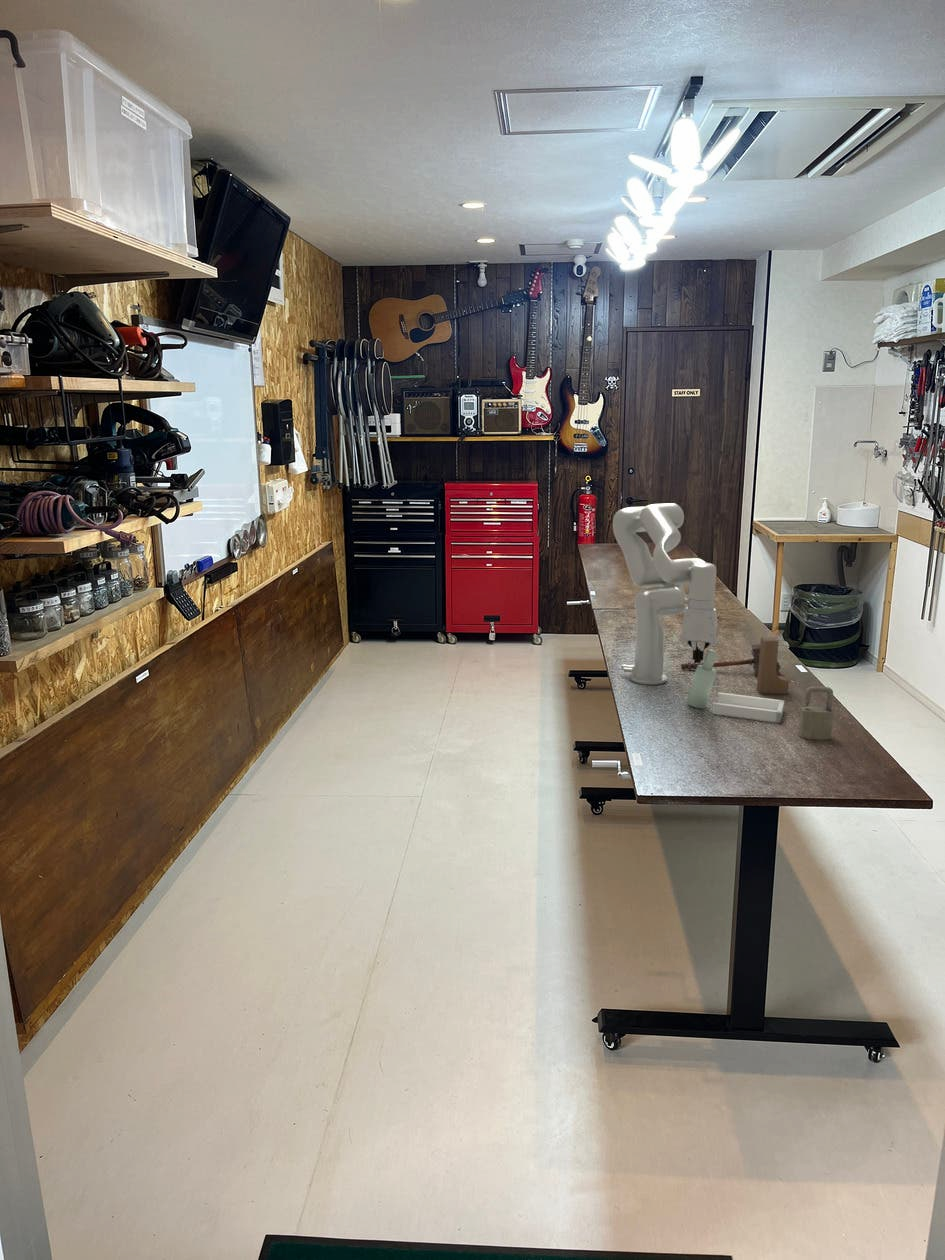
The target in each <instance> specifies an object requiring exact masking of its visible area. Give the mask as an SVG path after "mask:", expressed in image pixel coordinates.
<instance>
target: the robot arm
mask: <svg viewBox="0 0 945 1260" xmlns="http://www.w3.org/2000/svg"><path fill="white" fill-rule="evenodd" d="M684 520H685V514H684V510H683V509H682V507H681V506H680V505H679V504H677V503H674V502H673V503H671V502H668V503H653V504H652V503H651V504H648V505H646V506H630V507H624V508H622V509H619V510H617V511H616V513H615V514H614V515H613V519H612V531H613V536H614V537H615V540H616V542H617V544H618V545H619V548H620V549H621V551H622V554H623V557H624V560H625V563H626V566H627V569H628V573H629V576H630V579H631V581H632V583H633V585H634V586H636V587H638V588H643V589H641V590H639V591H637V593H636V594H635V596H634V611H635V618H636V620H635V647H634V664H631V665H629V664H621V670H622V671H623V672H625V673H629V677H628V678H629V680H630V681H631V682H632V683H636V684H640V685H646V686H647V685H649V686H650V685H651V686H652V685H654V686H655V685H656V686H657V685H662V684H664V683H666V682H667V681H668V677H667V675H666V674H664V659H665V657H664V656H665V637H666V628H665V626H664V624H663V622H662V621H661V619H660V617H663V616H673V615H679V614H682V613H683V618H682V625H681V638H680V641H681V643H684V644H688V645H689V646H690V647H691V650H692V660H693V663H695V664H701V662H702V661H704V652H705V649H707V648H709V647H713V646H717V644H718V641H717V640H718V639H717V636H718V616H717V615H718V614H717V609H716V608H715V600H716V599H715V597H716V596H715V595H716V583H717V567H716V565H715V564H714V563H710V562H707V561H705V560H703V559H701V558H699V557H698V558H697V557H692V558H677V559H676V558H675V559H671V558H670V557H671V556H669V555H668V552H670V551H672V550H673V549H674V548H676V547H677V546H678V545H679V543H680V542H681V539H682V535H681V532H680V531H679V529H680V528H681V527H682V525H683V524H684ZM643 532H646V533H647V534H648V536H649V537H650V539H651V541H652V542H653V544H654V545H655V547H654V548H653V555H651V552H650V550H649V549H650V548H649V546H648V544H647V543H646V542H645V540H644V539H643V538H642V537H640V536H639V535H638V534H637V533H643ZM684 584H689V590H688V591H689V592H688V594H689V595H688V597H687V595H686V591H685V589H684ZM698 642H699V643H700V646H698Z"/></svg>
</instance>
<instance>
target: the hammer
mask: <svg viewBox="0 0 945 1260" xmlns="http://www.w3.org/2000/svg"><path fill="white" fill-rule="evenodd" d="M750 651H751V655H752V658H748V659H744V660H742V659H741V660H733V661H731V660H730V661H719V662H714V665H713V668H719V667H732V666H743V665H750V666H752V668H753V671H754V672H755V676H756V675H757V676H758V667H759V655H760V643H758V644H751V650H750ZM698 665H703V663H694V662H689V661H688V662H687V663H683V664H682V663H681V664H680V667H681V670H688V671H692V670H696V669H697V666H698ZM780 670H781V665H780V663H779V661H778V660H777V666H776V672H777V676H779V675H780V674H781V672H780ZM757 676H756V677H757Z"/></svg>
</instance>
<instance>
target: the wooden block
mask: <svg viewBox="0 0 945 1260" xmlns="http://www.w3.org/2000/svg"><path fill="white" fill-rule="evenodd" d="M759 644H760V655H759V667H758V677H756V678H757V679H756V680H757V682H756V690H757V692H758V693H760V694H761V695H786V694H787V695H788V694H789V693H788V692H789V687H790V686H789V685H790V680H788V679H787V677H785V676H782V675H777V672H776V666H777V661H778V655H779V644H780V643H779V640H778V639H777V638H776V637H774V636H773V637H772V636H765V637H763V636H762V637H760V642H759Z"/></svg>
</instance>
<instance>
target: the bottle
mask: <svg viewBox="0 0 945 1260" xmlns="http://www.w3.org/2000/svg"><path fill="white" fill-rule="evenodd" d="M717 655H718V651H717V650H715V649H712V648H708V649H707V651H706V653H705V656H704V658H703V663H702V664H703V665H698V666H697V668H696V669H695V673H694V676H693V679H692V683H691V685H690V689H689V691H688V695H687V698H686V699H687V700H686V703H687V704H688V705H690V706H691V707H694V708H697V709H706V707H707V705H708V704H707V703H708V702H709V701H708V700H709V697H710V695H711V691H712V688H713V685H714V681H715V679H716V676H717V672H718V671H717V669H715V667H713V665H714V663H715V662H716V657H717Z"/></svg>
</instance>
